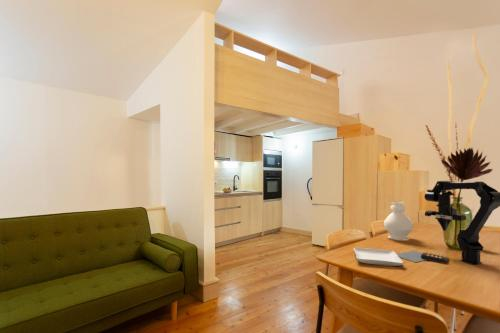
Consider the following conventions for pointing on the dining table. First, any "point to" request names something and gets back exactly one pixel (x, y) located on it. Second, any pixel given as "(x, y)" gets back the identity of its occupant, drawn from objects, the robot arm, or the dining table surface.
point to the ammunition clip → (434, 257)
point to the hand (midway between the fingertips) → (444, 230)
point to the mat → (411, 256)
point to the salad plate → (377, 256)
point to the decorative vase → (398, 222)
